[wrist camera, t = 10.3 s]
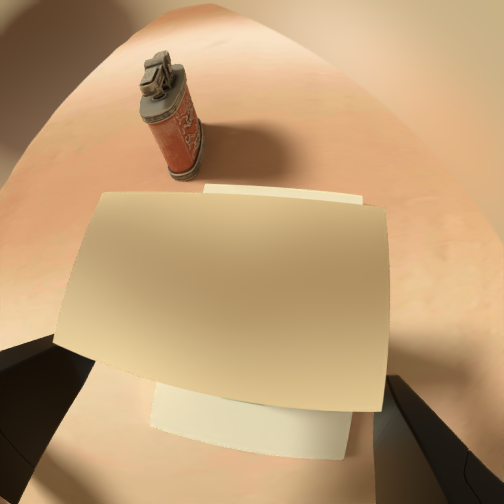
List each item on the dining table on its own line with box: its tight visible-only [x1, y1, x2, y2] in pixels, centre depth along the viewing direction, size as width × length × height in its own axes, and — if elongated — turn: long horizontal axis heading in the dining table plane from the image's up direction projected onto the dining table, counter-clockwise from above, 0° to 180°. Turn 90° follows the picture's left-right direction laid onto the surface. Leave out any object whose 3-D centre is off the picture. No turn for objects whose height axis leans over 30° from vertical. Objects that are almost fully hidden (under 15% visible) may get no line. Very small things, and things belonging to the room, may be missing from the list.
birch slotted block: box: [53, 192, 390, 412], centre depth 11 cm, size 4×7×12 cm, turn 81°
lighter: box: [139, 50, 205, 181], centre depth 21 cm, size 8×3×10 cm, turn 4°
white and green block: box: [149, 184, 363, 460], centre depth 16 cm, size 18×12×4 cm, turn 171°
